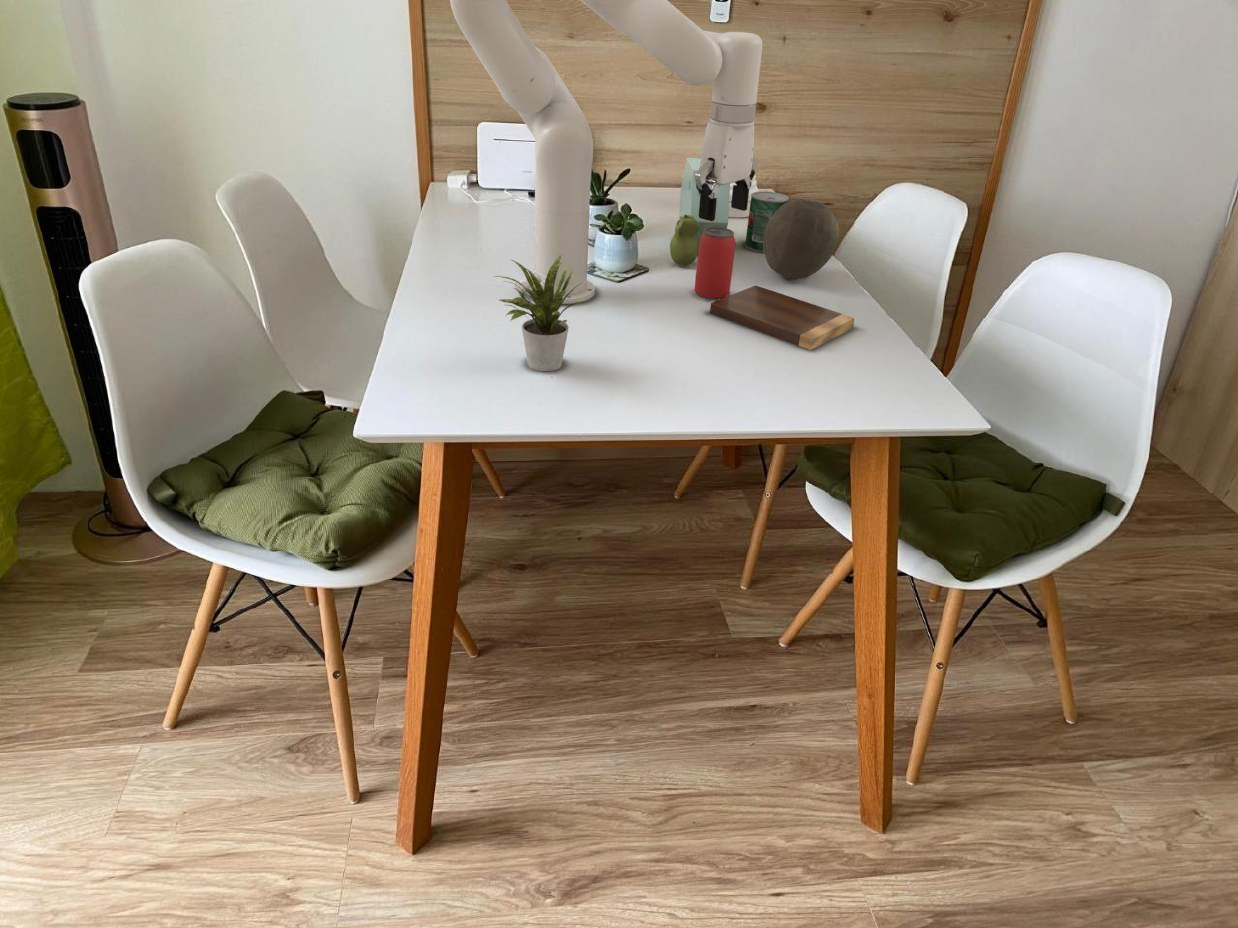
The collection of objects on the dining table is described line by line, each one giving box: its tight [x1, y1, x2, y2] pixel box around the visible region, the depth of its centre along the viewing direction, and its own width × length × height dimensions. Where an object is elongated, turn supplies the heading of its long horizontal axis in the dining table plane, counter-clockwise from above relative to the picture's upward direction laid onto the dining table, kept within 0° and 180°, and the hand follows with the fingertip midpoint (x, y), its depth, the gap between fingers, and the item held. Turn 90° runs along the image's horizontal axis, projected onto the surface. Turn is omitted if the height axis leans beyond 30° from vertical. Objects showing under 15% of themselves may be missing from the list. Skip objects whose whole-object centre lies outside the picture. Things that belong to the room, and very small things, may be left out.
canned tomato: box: [744, 190, 790, 254], centre depth 194 cm, size 8×8×11 cm
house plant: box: [493, 256, 586, 372], centre depth 137 cm, size 14×14×16 cm
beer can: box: [693, 227, 736, 301], centre depth 167 cm, size 7×7×12 cm
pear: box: [669, 214, 699, 267], centre depth 181 cm, size 6×5×10 cm
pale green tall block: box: [678, 157, 730, 250], centre depth 190 cm, size 17×8×21 cm
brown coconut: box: [763, 198, 840, 281], centre depth 177 cm, size 14×14×15 cm
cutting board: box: [709, 285, 856, 351], centre depth 160 cm, size 14×21×2 cm, turn 48°
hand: (723, 214), depth 162 cm, fingers open, 9 cm apart
